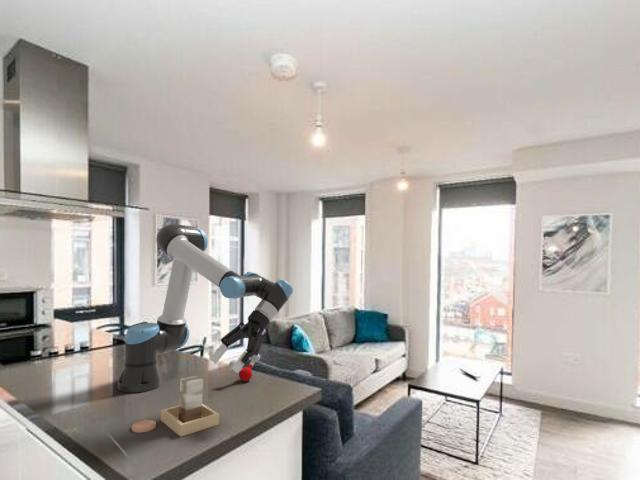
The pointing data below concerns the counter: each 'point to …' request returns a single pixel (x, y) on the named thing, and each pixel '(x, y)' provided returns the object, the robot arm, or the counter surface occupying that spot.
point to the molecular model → (246, 368)
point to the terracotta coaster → (143, 426)
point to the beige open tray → (182, 429)
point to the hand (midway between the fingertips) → (223, 365)
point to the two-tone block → (190, 399)
